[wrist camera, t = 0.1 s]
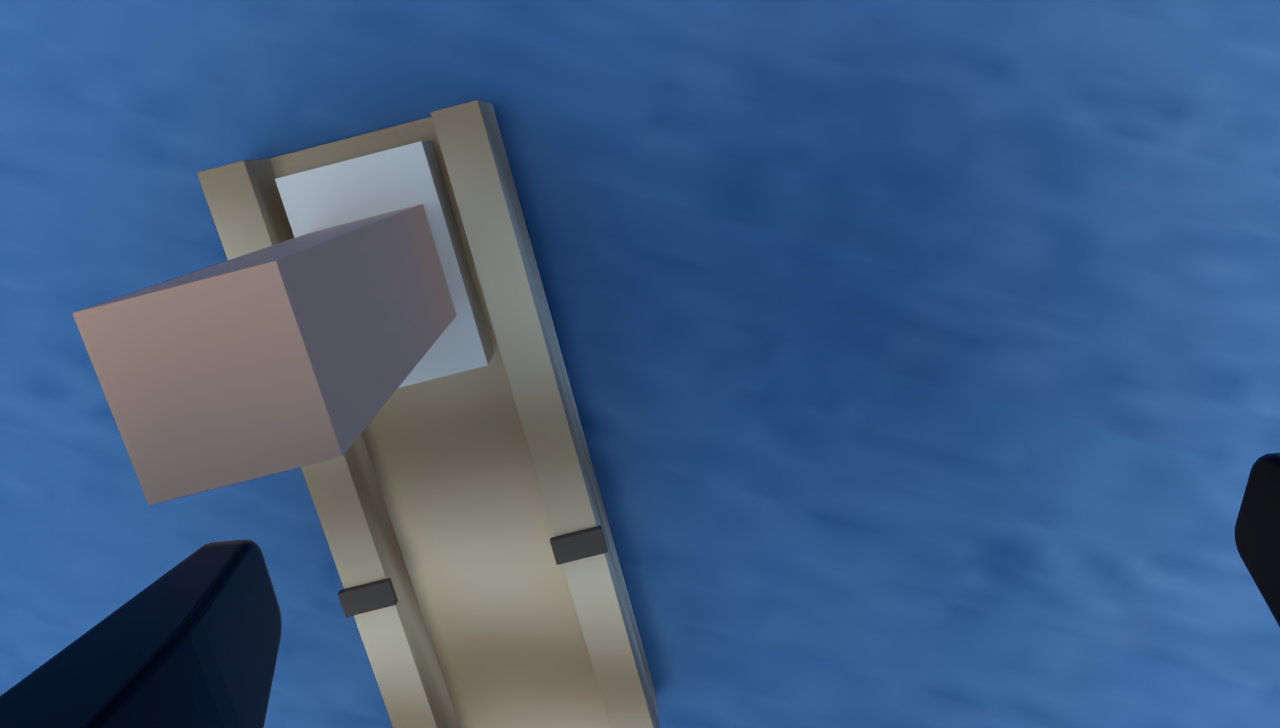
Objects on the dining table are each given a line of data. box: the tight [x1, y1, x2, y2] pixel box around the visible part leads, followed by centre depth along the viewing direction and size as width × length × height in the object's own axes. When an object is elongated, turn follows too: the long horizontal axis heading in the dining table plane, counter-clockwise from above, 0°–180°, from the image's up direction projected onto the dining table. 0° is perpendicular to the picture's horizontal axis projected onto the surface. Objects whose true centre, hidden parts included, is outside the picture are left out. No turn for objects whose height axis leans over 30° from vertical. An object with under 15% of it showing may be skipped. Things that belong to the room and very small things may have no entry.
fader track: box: [197, 100, 659, 728], centre depth 23 cm, size 16×6×3 cm, turn 14°
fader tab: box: [72, 141, 494, 505], centre depth 17 cm, size 5×3×11 cm, turn 14°
